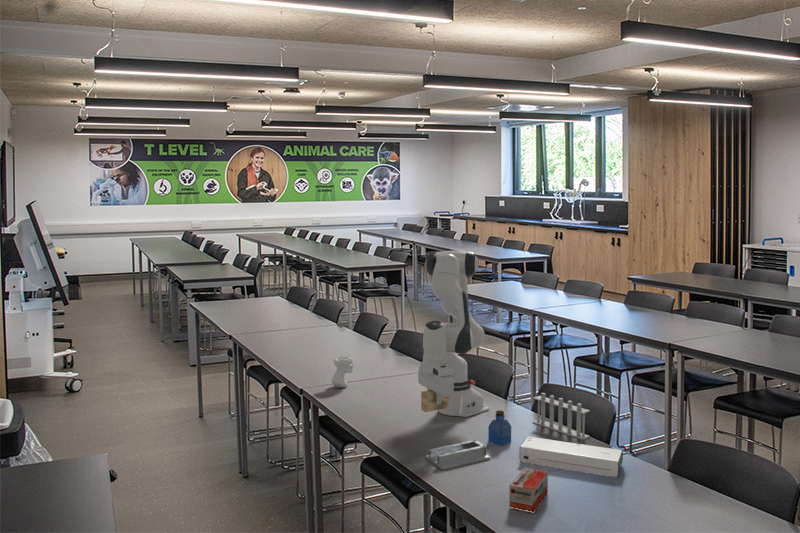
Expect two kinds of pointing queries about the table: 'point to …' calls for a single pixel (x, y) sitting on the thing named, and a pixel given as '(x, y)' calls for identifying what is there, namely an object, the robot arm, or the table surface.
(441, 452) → the floor track
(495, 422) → the perfume bottle
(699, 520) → the table surface
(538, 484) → the medicine box
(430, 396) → the tan wooden block
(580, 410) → the test tube rack
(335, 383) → the white lumpy upright piece
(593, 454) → the laminator
